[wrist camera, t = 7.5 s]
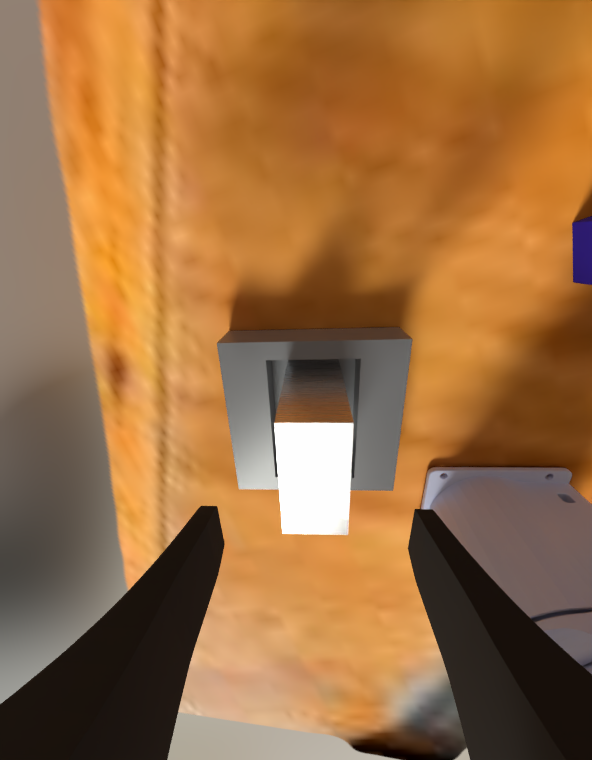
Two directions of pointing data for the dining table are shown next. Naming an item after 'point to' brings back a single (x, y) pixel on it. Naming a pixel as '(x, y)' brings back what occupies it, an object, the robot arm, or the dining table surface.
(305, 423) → the long block
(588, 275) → the blue concave cradle block
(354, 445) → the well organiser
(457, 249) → the dining table surface
